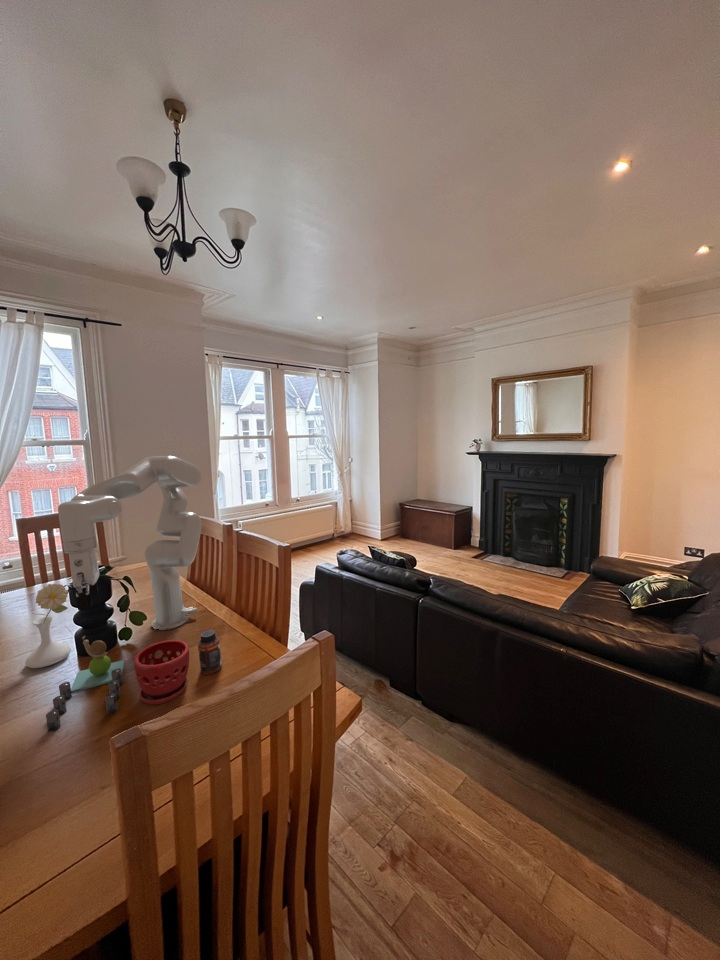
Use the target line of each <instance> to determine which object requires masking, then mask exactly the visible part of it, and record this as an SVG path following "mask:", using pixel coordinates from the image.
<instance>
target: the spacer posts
mask: <svg viewBox="0 0 720 960" xmlns="http://www.w3.org/2000/svg"><path fill="white" fill-rule="evenodd" d="M111 674H112V682H110V683H107V684H108V685H107V686H108V687H107V688H108V692H109V693H108V694H107V695H106V696H105V697H104V701H105V709H106V715H111V714H114V713H116V712H117V711H118V710H119V707H118V698H120V697H121V695H122V694H121V688H120V686H121V685H123V684H124V679H123V672H122V671H121V669H120V668H118V669H115V670H113V671H112V672H111ZM71 688H72V686H71V683H70V681H64V682H62V683H61V684H60V685H58V692H59V695H57V696H55V697H54V698H53V699H52V705H53V709H52V710H50V711H48V712H47V713H46V714H45V718H46V725H47V731H48V733H53V732H56V731H58V730H59V729H60V728H61V725H62V724H61V720H60V719H61V718H60V716H63V715H64V714H66V712H67V703H66V702H68V701H69V700H71V698H72V697H73V693H71Z"/></svg>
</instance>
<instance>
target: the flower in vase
mask: <svg viewBox="0 0 720 960" xmlns="http://www.w3.org/2000/svg"><path fill="white" fill-rule="evenodd" d="M42 587H43V588H41V589H39V590H38V591H37V594H36V598H35V604H37V605H38V607H40V609H46V610H48V612H47V614H45V613H34V612H31V614H33V615H39V616H44V617H40V618H38V619H35V620H34V621H32V624H33V625H35V627H36V628H37V629H38V631H39V634H40V639H41V640H40V644H39V645H38V646H37V648H35V649H34V650H33V651H32V652H31V653H30V654H29V655H28V657H27V658H26V659H25V662H24V663H25V666H26V667H28V668H30V669H39V668H45V667H48V666H51V665H55V664H56V663H59V662H60V661H62V660H63V659H65V658H67V656H69V655H70V653H71V650H72V648H71V647H70V645H68V644H66V643H64V642H60V641H56V640H53V639H52V637H51V632H50V630H51V629H50V627H51V623H52V621H53V619H54V617H53V616H49V614H50V613H51V612H54V613H56V614H60V613H62V612H64V611H66V610H68V609H69V608H68V607H67V606H65V605H63V604H64V603H66V602H67V598H68V595H69V590H68V589H66V588H67V587H66V586H64V585H63V584H61V583H48V584H47V585H46V586H42Z"/></svg>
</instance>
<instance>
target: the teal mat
mask: <svg viewBox="0 0 720 960" xmlns="http://www.w3.org/2000/svg"><path fill="white" fill-rule="evenodd" d="M125 663H126V662H125V659H123V660H118V661H114V662H111V666H110V668H109V670H108V671H107V672H106V673H104V674H102V675H93V674H91V673H90V671H89V668H87V669H82V670H79V671H77V672H76V675H75V679H74V680H73V683H72V686H71V693H72V694H73V693H76V692H77V693H78V692H80V691H81V692H82V691H84V690H87V689H91V688H95V687H97V686H102V685H107V684H109V683H110V682H112V674H111V672H112V671H113V670H115V669H118V668H120V669H121V671H122V673H123V671H124V667H125Z"/></svg>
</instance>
